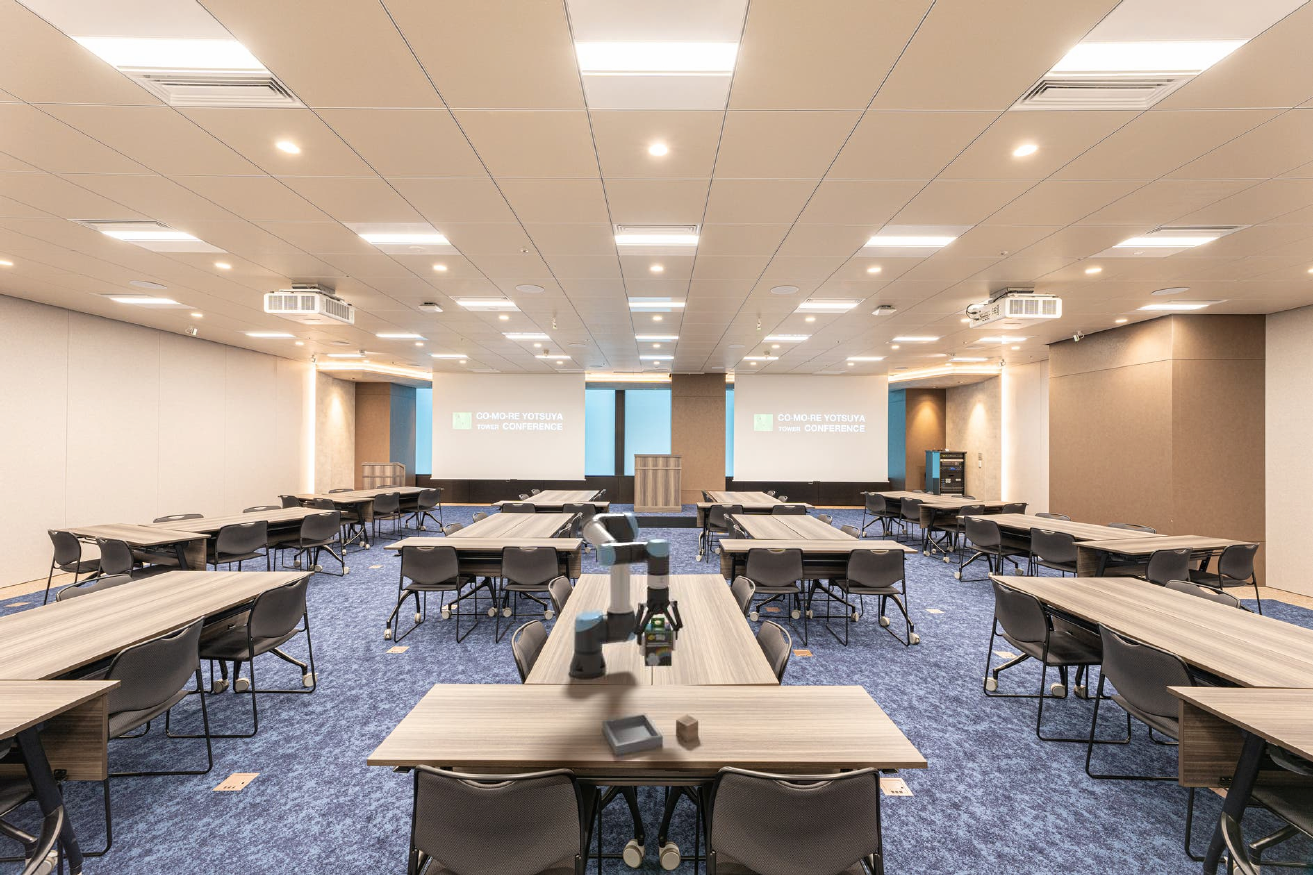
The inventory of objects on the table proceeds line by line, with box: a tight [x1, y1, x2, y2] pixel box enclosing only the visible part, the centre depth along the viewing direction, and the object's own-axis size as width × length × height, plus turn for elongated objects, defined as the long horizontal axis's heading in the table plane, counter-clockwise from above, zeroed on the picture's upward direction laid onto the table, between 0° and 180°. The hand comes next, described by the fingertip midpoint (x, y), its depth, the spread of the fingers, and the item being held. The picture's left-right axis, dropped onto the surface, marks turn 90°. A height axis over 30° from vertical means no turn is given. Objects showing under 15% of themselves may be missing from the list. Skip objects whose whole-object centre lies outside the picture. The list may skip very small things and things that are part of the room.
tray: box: [601, 712, 664, 757], centre depth 156 cm, size 15×15×3 cm
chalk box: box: [643, 617, 673, 668], centre depth 167 cm, size 9×9×15 cm
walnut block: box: [675, 714, 699, 743], centre depth 158 cm, size 5×5×5 cm
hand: (657, 651), depth 167 cm, fingers closed on chalk box, 11 cm apart
